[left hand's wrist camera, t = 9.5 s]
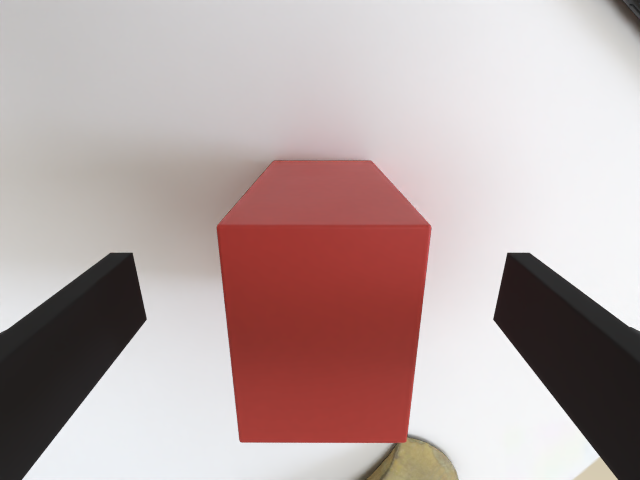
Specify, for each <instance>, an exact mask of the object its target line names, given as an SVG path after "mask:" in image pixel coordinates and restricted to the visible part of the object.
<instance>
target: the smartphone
mask: <svg viewBox="0 0 640 480" xmlns="http://www.w3.org/2000/svg"><path fill="white" fill-rule="evenodd" d="M623 1H624V2H625V4H626V5H627V6H628V7H629V8H630V9H631V10H632V11H633V13H634V14H635V15H636V16H637V17H638V18H639V19H640V0H623Z"/></svg>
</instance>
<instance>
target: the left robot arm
mask: <svg viewBox="0 0 640 480" xmlns="http://www.w3.org/2000/svg"><path fill="white" fill-rule="evenodd" d="M146 320H147V318H146V314H145V309H144V304H143V300H142V295H141V290H140V286H139V281H138V276H137V271H136V267H135V262H134V257H133V253H110V254H108V255H107V256H106V257H104V258H103V259H102V260H100V261H99V262H98V263H96V264H95V265H94V266H92V267H91V268H90V269H88V270H87V271H86V272H84V273H83V274H81V275H80V276H79V277H77V278H76V279H75V280H73V281H72V282H71V283H69V284H68V285H67V286H65V287H64V288H63V289H61V290H60V291H59V292H57V293H56V294H55V295H53V296H52V297H51V298H49V299H48V300H46V301H45V302H44V303H42V304H41V305H40V306H38V307H37V308H36V309H34V310H33V311H32V312H30V313H29V314H28V315H26V316H25V317H24V318H22V319H21V320H20V321H18V322H17V323H16V324H14V325H13V326H12V327H10V328H9V329H7V330H5V331H3V332H1V333H0V480H22V479H23V478H24V476H25V475H26V474H27V472H28V471H29V470H30V469H31V467H32V466H33V465H34V463H35V462H36V461H37V460H38V458H39V457H40V456H41V454H42V453H43V452H44V451H45V449H46V448H47V447H48V445H49V444H50V443H51V442H52V440H53V439H54V438H55V436H56V435H57V434H58V433H59V431H60V430H61V429H62V427H63V426H64V425H65V424H66V422H67V421H68V420H69V419H70V417H71V416H72V415H73V413H74V412H75V411H76V410H77V408H78V407H79V406H80V404H81V403H82V402H83V401H84V399H85V398H86V397H87V395H88V394H89V393H90V392H91V390H92V389H93V388H94V386H95V385H96V384H97V383H98V381H99V380H100V379H101V377H102V376H103V375H104V374H105V372H106V371H107V370H108V369H109V367H110V366H111V365H112V363H113V362H114V361H115V360H116V358H117V357H118V356H119V354H120V353H121V352H122V351H123V349H124V348H125V347H126V345H127V344H128V343H129V342H130V340H131V339H132V338H133V336H134V335H135V334H136V333H137V331H138V330H139V329H140V327H141V326H142V325H143V324H144V322H145V321H146ZM493 320H494V321H495V322H496V324H497V325H498V326H499V327H500V329H501V330H502V331H503V333H504V334H505V335H506V336H507V338H508V339H509V340H510V342H511V343H512V344H513V345H514V347H515V348H516V349H517V351H518V352H519V353H520V354H521V356H522V357H523V358H524V360H525V361H526V362H527V363H528V365H529V366H530V367H531V369H532V370H533V371H534V372H535V374H536V375H537V376H538V377H539V379H540V380H541V381H542V383H543V384H544V385H545V386H546V388H547V389H548V390H549V392H550V393H551V394H552V395H553V397H554V398H555V399H556V401H557V402H558V403H559V404H560V406H561V407H562V408H563V410H564V411H565V412H566V413H567V415H568V416H569V417H570V419H571V420H572V421H573V422H574V424H575V425H576V426H577V428H578V429H579V430H580V431H581V433H582V434H583V435H584V436H585V438H586V439H587V440H588V442H589V443H590V444H591V445H592V447H593V448H594V449H595V451H596V452H597V453H598V454H599V456H600V457H601V458H602V460H603V461H604V462H605V463H606V465H607V466H608V467H609V469H610V470H611V471H612V472H613V474H614V475H615V476H616V478H617V479H618V480H640V331H638V330H636V329H634V328H632V327H628V326H627V325H626V324H624V323H623V322H622V321H620V320H619V319H618V318H616V317H615V316H614V315H612V314H611V313H610V312H608V311H607V310H606V309H604V308H603V307H602V306H600V305H599V304H598V303H596V302H595V301H594V300H592V299H591V298H589V297H588V296H587V295H585V294H584V293H583V292H581V291H580V290H579V289H577V288H576V287H575V286H573V285H572V284H571V283H569V282H568V281H567V280H565V279H564V278H563V277H561V276H560V275H559V274H557V273H556V272H554V271H553V270H552V269H550V268H549V267H548V266H546V265H545V264H544V263H542V262H541V261H540V260H538V259H537V258H536V257H534V256H533V255H532V254H530V253H507V257H506V262H505V267H504V271H503V276H502V281H501V286H500V290H499V295H498V300H497V304H496V309H495V314H494V318H493Z"/></svg>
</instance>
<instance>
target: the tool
mask: <svg viewBox="0 0 640 480" xmlns="http://www.w3.org/2000/svg"><path fill="white" fill-rule="evenodd" d="M366 480H458V476H457V472H456V470H455V468H454V466H453V465H452V464H451V462H450V461H449V459H448V458H447V457H446V456H445V455H444V454H443V453H442V452H440V451H439V450H438V449H436V448H435V447H433V446H431V445H430V444H429V443H426V442H423V441H420V440H417V439H412V438H409V437H407V441H406V442H405V443H397V445H396V446H395V447H394V449H393V450H392V452H391V453H390V454H389V456H388V457H387V458H386V459H385V460H384V461H383V462H382V463H381V465H380V466H379V467H378V468H377V469H376V470H375V471H374V472H373V473H372V474H371V475H370V477H368V478H367V479H366Z"/></svg>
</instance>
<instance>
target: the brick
mask: <svg viewBox="0 0 640 480" xmlns="http://www.w3.org/2000/svg"><path fill="white" fill-rule="evenodd" d="M430 235H431V225H430V224H429V223H428V222H427V221H426V220H425V219H424V218H423V217H422V216H421V214H420V213H419V212H418V211H417V210H416V209H415V208H414V207H413V206H412V205H411V203H410V202H409V201H408V200H407V199H406V198H405V197H404V196H403V195H402V194H401V193H400V191H399V190H398V189H397V188H396V187H395V186H394V185H393V184H392V183H391V182H390V181H389V179H388V178H387V177H386V176H385V175H384V174H383V173H382V172H381V171H380V170H379V169H378V167H377V166H376V165H375V164H374V163H373V162H372V161H273V162H272V163H271V164H270V165H269V166H268V168H267V169H266V170H265V171H264V172H263V173H262V174H261V176H260V177H259V178H258V179H257V180H256V181H255V183H254V184H253V185H252V186H251V187H250V188H249V189H248V191H247V192H246V193H245V194H244V195H243V196H242V198H241V199H240V200H239V201H238V202H237V203H236V204H235V206H234V207H233V208H232V209H231V210H230V211H229V212H228V214H227V215H226V216H225V217H224V218H223V219H222V221H221V222H220V223H219V224H218V225H217V236H218V245H219V254H220V264H221V273H222V282H223V292H224V301H225V310H226V320H227V329H228V338H229V348H230V357H231V366H232V376H233V385H234V394H235V404H236V413H237V422H238V432H239V440H240V442H264V443H405V442H406V441H407V434H408V425H409V417H410V408H411V399H412V391H413V382H414V374H415V365H416V356H417V348H418V339H419V330H420V322H421V313H422V304H423V296H424V287H425V279H426V270H427V261H428V253H429V244H430Z"/></svg>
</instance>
